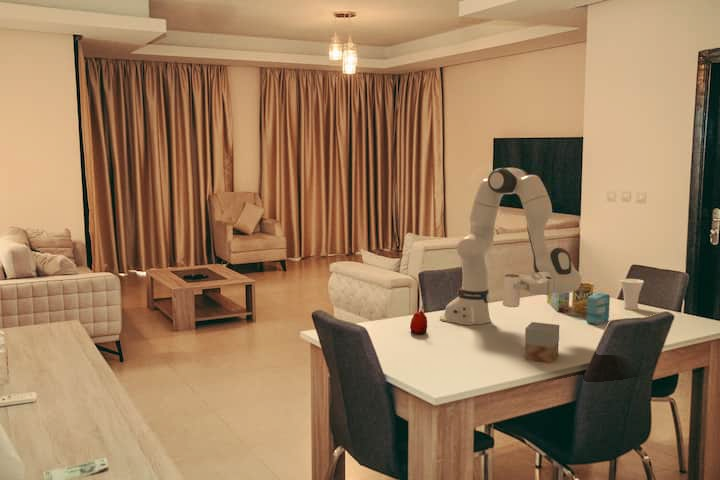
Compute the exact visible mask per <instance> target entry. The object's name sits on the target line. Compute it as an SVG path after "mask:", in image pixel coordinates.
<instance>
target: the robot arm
mask: <svg viewBox="0 0 720 480" xmlns="http://www.w3.org/2000/svg"><path fill="white" fill-rule="evenodd" d="M512 194H513V195H514V194H516V195H517V196H518V197H519V199H520V201H521V205H522V208H523V211H524V215H525V220H526V228H527V234H528V239H529V242H530V247H531V250H532V254H533V255H532V256H533V270H534V272H535V273H534V275H533V276H531V275H528V274H527V275H526V274H518V275H519V276H520V280H521V282H520V284H514V287H513V288H514V289H520V291H525V292H528V293H530V294H532V295H537V296H539V295H540V296H541V295H542V296H543V295H545V296H552V295H553V293H559V294H560V293H573V292H574V291H576V290H577V289H578V288H579V287H580V285H581V282H582V275H581V274H580V272H579V271H578V270H576V268H575V267H574V266H575V265H574V264H573V263H572V256H571V254H570V253H569V251H567V250H566V249H565V248H563V247H555V248H553V249H551V250H549V249H548V244H547V241H546V237H545V229H546V226H547V223H548V222H549V219H550V217H551V216H552V214H553V209H552V208H553V207H552V202H551V199H550V196H549V194H548V192H547V188H546V186H545V185H544V183H543V181H542V180H541V178H540V177H539V176H538V175H536V174H529V173H528V172H527V171H526V170H524V169H522V168H516V167H499V168H496V169H494V170H492V171H491V172H490V173H489V175H488V177H487V178H483V179H482V180H481V181H480V183H479V185H478V187H477V190H476V193H475V196H474V199H473V204H472V207H471V210H470V211H471V212H470V216H469V222H470V227H469V228H470V229H469V234H468V235H466V236H463V237H462V238H461V239H460V240H459V242H458V243H457V245H456V251H457V255H458V256H459V258H460V263H461V271H462V286H461V287H460V288H459V289H458V290H457V297H456V298H455V299H453V300H451V301H450V302H449V303H448V304H446V306H445V309H444V313H442V314H441V315H440V316H439V321H442V322H448V323H454V324H459V325H460V324H461V325H467V326H472V325H473V326H474V325H484V324H488V323H490V322H491V321H492V319H491V315H490V312H489V311H490V310H489V301H490V295H489V294H490V293H489V292H490V291H489V289H488V285H489V272H488V270H487V266H486V261H485V256H487V255H489V254H490V252H491V251H492V250H493V248H494V245H495V241H494V235H495V226H496V219H497V216H498V211H499V208H500V203H501V201H502V199H503V196H504V195H512Z"/></svg>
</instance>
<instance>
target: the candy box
mask: <svg viewBox="0 0 720 480" xmlns="http://www.w3.org/2000/svg"><path fill="white" fill-rule="evenodd" d="M591 295H594V281H593V282H592V281H581V285H580V287H579V288H578V289H577V290H576V291H574V292H572V298H571V302H572V303H571V315H572V316H579V317H587V299H588V297H589V296H591Z"/></svg>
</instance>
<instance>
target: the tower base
mask: <svg viewBox="0 0 720 480" xmlns="http://www.w3.org/2000/svg"><path fill="white" fill-rule="evenodd" d="M559 342H560V340H559V341H558V343H557V344H556V345H555V346H554V347H553V348H551V347H543V346H535V345H527V344H525V343H524V346H525V347H524V348H525V349H524V360H525V361H528V362H529V361H531V362H537V363H545V364H554V363H555V361H556V359H557V358H559V346H560V345H559Z"/></svg>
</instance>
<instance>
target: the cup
mask: <svg viewBox="0 0 720 480" xmlns="http://www.w3.org/2000/svg"><path fill="white" fill-rule="evenodd" d="M619 282H620V286H621V288H622V292H623V307H622V308H623V309H625V310H630V311H634V310H635V311H637V310H638V308H639V304H638V303H639V297H640V293H641V290H642V287H643V284H644V282H645V281H644V280H642V279H638V278H622V279H620V280H619Z"/></svg>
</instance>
